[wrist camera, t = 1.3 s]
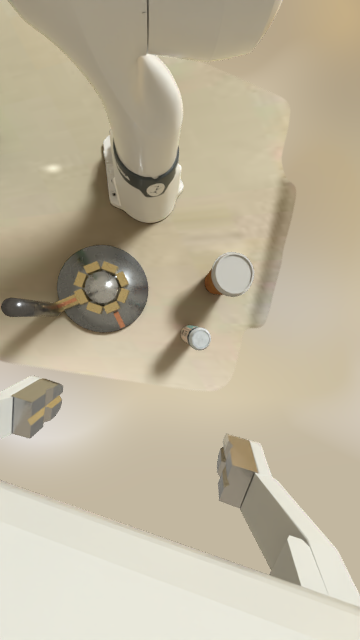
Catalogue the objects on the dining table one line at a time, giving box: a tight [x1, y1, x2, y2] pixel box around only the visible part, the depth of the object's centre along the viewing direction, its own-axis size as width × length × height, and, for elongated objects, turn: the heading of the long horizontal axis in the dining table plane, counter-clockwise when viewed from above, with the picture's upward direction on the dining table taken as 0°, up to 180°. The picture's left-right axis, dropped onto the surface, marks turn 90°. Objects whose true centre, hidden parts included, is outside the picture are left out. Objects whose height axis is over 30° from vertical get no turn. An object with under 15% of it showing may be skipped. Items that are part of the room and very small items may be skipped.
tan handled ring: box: [1, 261, 130, 317], centre depth 39 cm, size 19×12×14 cm, turn 115°
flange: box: [57, 245, 148, 332], centre depth 46 cm, size 21×21×4 cm
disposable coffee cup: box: [205, 252, 254, 297], centre depth 46 cm, size 10×10×12 cm
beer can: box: [181, 325, 211, 350], centre depth 46 cm, size 5×5×12 cm
